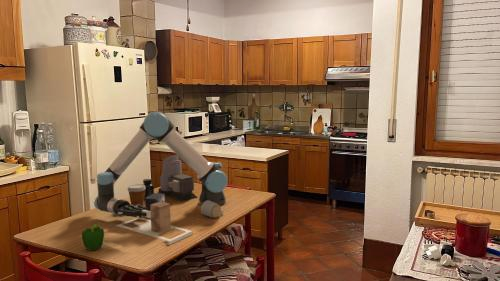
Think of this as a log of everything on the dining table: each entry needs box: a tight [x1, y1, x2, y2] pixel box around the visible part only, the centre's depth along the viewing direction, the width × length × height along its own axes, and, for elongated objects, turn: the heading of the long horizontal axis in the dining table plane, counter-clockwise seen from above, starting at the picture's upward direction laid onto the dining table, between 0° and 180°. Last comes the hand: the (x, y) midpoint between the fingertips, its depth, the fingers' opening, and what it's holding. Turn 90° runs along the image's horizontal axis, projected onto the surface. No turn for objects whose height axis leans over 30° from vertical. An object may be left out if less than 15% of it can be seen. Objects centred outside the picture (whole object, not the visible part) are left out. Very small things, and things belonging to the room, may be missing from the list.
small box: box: [144, 192, 166, 211], centre depth 194 cm, size 11×6×10 cm, turn 168°
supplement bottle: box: [142, 178, 155, 202], centre depth 223 cm, size 7×7×12 cm
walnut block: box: [150, 201, 172, 235], centre depth 169 cm, size 6×6×12 cm
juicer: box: [157, 154, 199, 203], centre depth 232 cm, size 30×16×24 cm, turn 42°
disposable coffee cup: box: [127, 183, 146, 207], centre depth 208 cm, size 10×10×12 cm
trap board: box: [116, 217, 193, 246], centre depth 173 cm, size 35×14×2 cm, turn 56°
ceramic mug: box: [200, 200, 224, 219], centre depth 193 cm, size 11×8×8 cm
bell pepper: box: [81, 222, 105, 251], centre depth 154 cm, size 8×8×10 cm
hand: (152, 215), depth 172 cm, fingers closed
